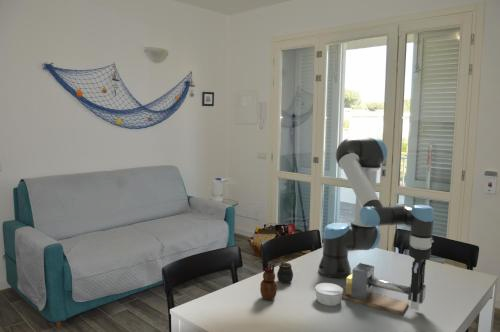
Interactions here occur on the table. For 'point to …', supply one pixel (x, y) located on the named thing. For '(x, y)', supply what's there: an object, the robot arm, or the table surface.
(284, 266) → the mate gourd
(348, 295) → the pad
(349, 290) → the brass collar
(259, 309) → the table surface
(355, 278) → the block
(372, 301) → the walnut board
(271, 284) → the wooden figurine
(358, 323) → the table surface
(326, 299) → the ramekin
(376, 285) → the shaft
